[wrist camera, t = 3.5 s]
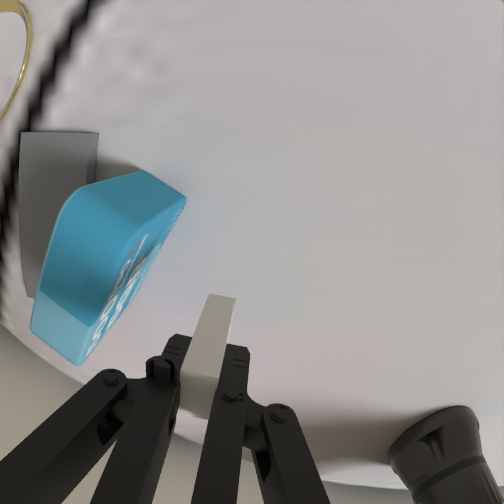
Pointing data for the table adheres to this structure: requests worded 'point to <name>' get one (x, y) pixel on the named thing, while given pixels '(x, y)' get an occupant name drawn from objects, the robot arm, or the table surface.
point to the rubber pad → (49, 189)
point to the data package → (100, 259)
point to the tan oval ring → (11, 3)
